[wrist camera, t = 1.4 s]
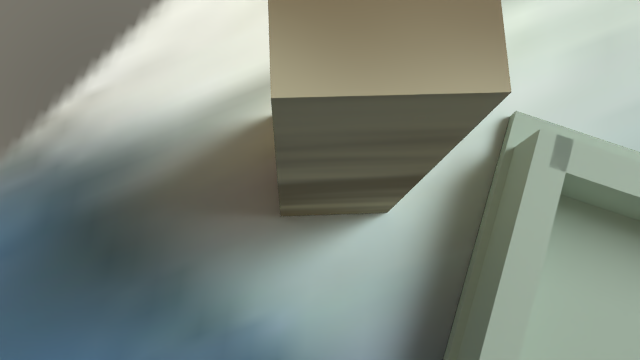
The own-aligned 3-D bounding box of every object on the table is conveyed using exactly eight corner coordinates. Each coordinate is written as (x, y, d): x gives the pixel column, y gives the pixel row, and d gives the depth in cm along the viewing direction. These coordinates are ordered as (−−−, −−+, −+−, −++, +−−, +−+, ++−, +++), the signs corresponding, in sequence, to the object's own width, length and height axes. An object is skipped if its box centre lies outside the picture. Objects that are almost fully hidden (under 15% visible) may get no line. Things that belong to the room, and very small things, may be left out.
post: (387, 212, 23) (511, 91, 10) (280, 216, 23) (270, 97, 10) (380, 110, 24) (486, -119, 11) (277, 113, 23) (264, -118, 11)
